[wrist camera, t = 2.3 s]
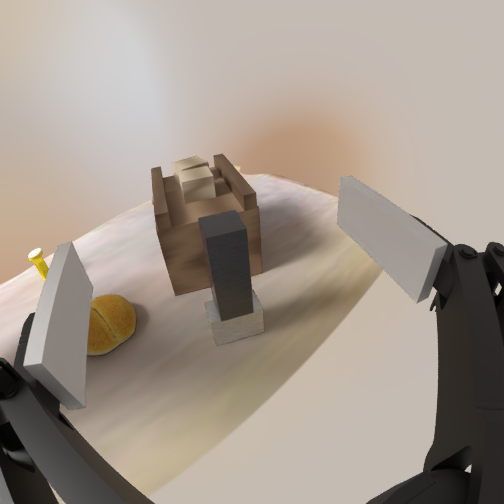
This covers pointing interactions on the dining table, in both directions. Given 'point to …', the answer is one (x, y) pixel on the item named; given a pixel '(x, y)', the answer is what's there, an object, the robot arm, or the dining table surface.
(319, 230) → the dining table surface
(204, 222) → the dark gray upright block
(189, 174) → the cream square block
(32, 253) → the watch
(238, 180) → the slot board
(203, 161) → the cream block
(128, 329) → the bread roll
